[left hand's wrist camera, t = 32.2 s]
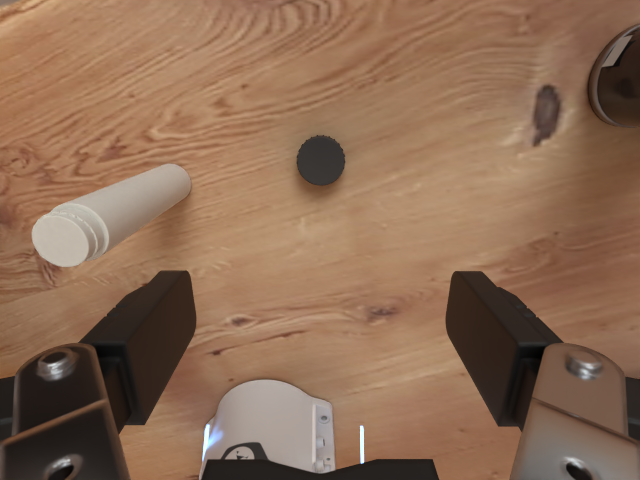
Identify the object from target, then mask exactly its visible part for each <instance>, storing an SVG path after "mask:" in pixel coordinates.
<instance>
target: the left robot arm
mask: <svg viewBox="0 0 640 480" xmlns="http://www.w3.org/2000/svg"><path fill="white" fill-rule="evenodd" d="M589 99H590V103H591V106H592V108H593V110H594V112H595V113H596V115H597V116H598V117H599V118H600V119H601V120H603V121H604V122H606V123H608V124H610V125H613V126H618V127H640V24H637V25H634V26H632V27H630V28H628V29H626V30H625V31H623V32H621V33H620V34H619V35H617V36H616V37H615V38H614V39H613V40H612V41H611V42H610V43H609V44H608V45H607V46H606V47H605V48H604V50H603V51H602V52H601V54H600V55H599V57H598V59H597V61H596V63H595V65H594V67H593V69H592V72H591V76H590V81H589ZM195 328H196V311H195V304H194V297H193V290H192V283H191V277H190V274H189V272H188V271H160V272H159V273H158V274H157V275H156V276H155V277H154V278H153V279H152V280H151V281H150V282H149V283H148V284H147V285H146V286H145V287H140V288H139V289H137V290H135V291H133V292H131V293H130V294H128V295H126V296H125V297H124V298H123V299H122V300H121V301H120V302H119V303H118V304H117V305H116V308H113V309H112V310H111V311H110V312H109V313H108V314H107V317H104V318H103V319H102V320H101V321H100V322H99V323H98V324H97V325H96V326H95V327H94V328H93V329H92V330H91V331H90V332H89V333H88V334H87V335H86V336H85V337H84V338H82V339H81V340H80V341H79V342H78V343H71V344H65V345H61V346H57V347H54V348H51V349H48V350H46V351H44V352H42V353H40V354H38V355H36V356H34V357H33V358H31V359H30V360H28V361H27V362H26V363H25V364H23V365H22V366H21V367H20V369H19V370H18V371H17V373H16V375H15V376H13V377H8V378H3V379H0V480H131V479H130V475H129V471H128V468H127V464H126V460H125V456H124V453H123V449H122V445H121V441H120V438H119V434H120V432H121V431H122V429H123V427H124V426H125V425H145V423H146V422H147V420H148V418H149V416H150V414H151V412H152V411H153V409H154V407H155V405H156V403H157V401H158V400H159V398H160V396H161V394H162V392H163V390H164V389H165V387H166V385H167V383H168V381H169V380H170V378H171V376H172V374H173V372H174V370H175V369H176V367H177V365H178V363H179V361H180V359H181V358H182V356H183V354H184V352H185V350H186V348H187V347H188V345H189V343H190V341H191V339H192V337H193V335H194V332H195ZM446 329H447V333H448V336H449V338H450V340H451V342H452V344H453V345H454V347H455V349H456V351H457V353H458V354H459V356H460V358H461V360H462V362H463V364H464V365H465V367H466V369H467V371H468V373H469V374H470V376H471V378H472V380H473V382H474V383H475V385H476V387H477V389H478V391H479V392H480V394H481V396H482V398H483V400H484V401H485V403H486V405H487V407H488V409H489V411H490V412H491V414H492V416H493V418H494V420H495V421H496V423H497V425H498V426H518V427H519V428H520V430H521V432H522V434H521V438H520V441H519V445H518V449H517V453H516V456H515V460H514V464H513V468H512V471H511V475H510V479H509V480H640V379H635V378H630V377H625V375H624V373H623V371H622V370H621V369H620V367H619V366H618V365H617V364H615V363H614V362H613V361H612V360H610V359H609V358H607V357H606V356H604V355H602V354H600V353H598V352H596V351H594V350H592V349H589V348H586V347H583V346H579V345H575V344H569V343H564V342H563V341H562V340H561V339H560V338H559V337H558V336H557V335H556V334H555V333H554V332H553V331H551V330H550V329H549V328H548V327H547V326H546V325H545V324H544V323H543V322H542V321H541V320H540V319H539V318H538V317H536V315H535V314H534V313H533V312H532V311H531V310H530V309H529V308H527V306H526V305H525V304H524V303H523V302H522V301H521V300H520V299H519V298H518V297H517V296H515V295H514V294H512V293H510V292H508V291H506V290H504V289H503V288H501V287H496V285H495V284H494V283H493V282H492V281H491V280H490V279H489V278H488V277H487V276H486V275H485V274H484V273H483V272H481V271H455V272H454V273H453V275H452V278H451V284H450V291H449V297H448V304H447V311H446ZM201 480H439V478H438V475H437V472H436V469H435V465H434V462H433V459H376V460H372V461H369V462H365V463H361V464H357V465H353V466H349V467H345V468H342V469H338V470H334V471H330V472H326V473H314V472H310V471H306V470H302V469H298V468H295V467H291V466H287V465H283V464H279V463H275V462H271V461H268V460H264V459H207V462H206V465H205V469H204V472H203V475H202V478H201Z"/></svg>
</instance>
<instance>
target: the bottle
mask: <svg viewBox="0 0 640 480" xmlns="http://www.w3.org/2000/svg"><path fill="white" fill-rule="evenodd" d="M190 190H191V180H190V177H189V175H188V174H187V172H186V171H185V170H184V169H183V168H181V167H180V166H178V165H175V164H164V165H162V166H159V167H156V168H154V169H151V170H149V171H146V172H143V173H141V174H138V175H136V176H133V177H131V178H128V179H125V180H123V181H120V182H118V183H115V184H113V185H110V186H107V187H105V188H102V189H100V190H97V191H94V192H92V193H89V194H87V195H84V196H82V197H79V198H76V199H74V200H71V201H69V202H66V203H64V204H61V205H59V206H57V207H55V208H54V209H53V210H52V211H51V212H50V213H48V214H46V215H43V216H42V217H41V218H40V219H39V220H38V221H37V222H36V224H35V225H34V227H33V230H32V241H33V244H34V246H35V248H36V250H37V251H38V253H39V255H40V256H42V257H43V258H44V259H45V260H47V261H48V262H50V263H52V264H54V265H57V266H61V267H74V266H77V265H79V264H81V263H82V262H84V261H90V260H94V259H97V258H99V257H100V256H102V255H103V254H105V253H106V252H108V251H109V250H110V249H112V248H113V247H115V246H116V245H118V244H119V243H121V242H122V241H123V240H125V239H126V238H128V237H129V236H131V235H132V234H134V233H135V232H136V231H138V230H139V229H141V228H142V227H144V226H145V225H146V224H148V223H149V222H151V221H152V220H154V219H155V218H157V217H158V216H159V215H161V214H162V213H164V212H165V211H167V210H168V209H170V208H171V207H172V206H174V205H175V204H177V203H178V202H180V201H181V200H183V199H184V198H185V197H186V196H187V195H188V194H189V192H190Z"/></svg>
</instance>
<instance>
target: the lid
mask: <svg viewBox="0 0 640 480" xmlns="http://www.w3.org/2000/svg"><path fill="white" fill-rule="evenodd" d="M298 152H299V154H298V156H297V165H298V170H299V172H300V173H301V175H302V176H303V178H304V179H305V180H307V181H308V182H310V183H312V184H315V185H327V184H330V183H332V182H334V181H335V180H336V179H338V177H339V176H340V175H341V174H342V171H343V169H344V165H345V158H344V157H345V155H344V154H343V149H342V148H341V147H340V144H339V143H337V142H336V141H335V139H334V140H333V139H332V138H330V137H327V136H324V135H323V136H318V135H317V136H315V137H311V138H310V139H308V140H306V142H305V143H304V144H302V147H301V149H299V151H298Z"/></svg>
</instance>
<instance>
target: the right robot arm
mask: <svg viewBox="0 0 640 480" xmlns="http://www.w3.org/2000/svg"><path fill="white" fill-rule="evenodd" d="M203 435H204V437H205V439H204V450H203V462H202V466H201V471H200V475H199V480H201V478H202V475H203V472H204V469H205V465H206V462H207V459H264V460H268V461H271V462H275V463H279V464H283V465H287V466H291V467H295V468H298V469H302V470H306V471H310V472H314V473H326V472H330V471H334V470H336V461H335V443H334V425H333V408H332V405H331V404H330V403H329V402H327V401H325V400H321V399H318V398H314V397H311V396H309V395H307V394H306V393H304V392H303V391H302V390H300V389H298V388H297V387H295V386H293V385H290V384H288V383H285V382H281V381H276V380H254V381H249V382H246V383H243V384H240V385H238V386H236V387H234V388H233V389H231V390H230V391H229V392H228V393H227V394H226V395H225V396H224V397H223V398H222V400H221V401H220V403H219V406H218V409H217V412H216V414H215V416H214V417H213V418H212V419H211V420H210V421H209V422H208V423H207V424H206V425H205V428H204V432H203ZM360 435H361V463H364V444H363V426H360Z"/></svg>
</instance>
